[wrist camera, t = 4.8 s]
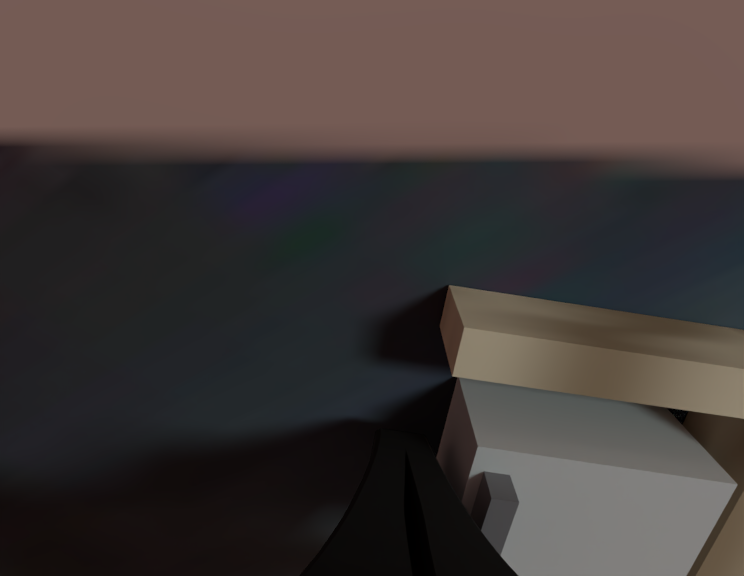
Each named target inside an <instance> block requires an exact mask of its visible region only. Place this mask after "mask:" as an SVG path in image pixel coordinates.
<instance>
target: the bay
mask: <svg viewBox="0 0 744 576" xmlns="http://www.w3.org/2000/svg"><path fill="white" fill-rule="evenodd" d="M440 330H441V334H442V338H443V342H444V346H445V350H446V354H447V358H448V362H449V366H450V370H451V374H452V376H453V377H460V378H467V379H474V380H481V381H488V382H495V383H502V384H508V385H515V386H522V387H529V388H536V389H543V390H550V391H557V392H563V393H570V394H577V395H584V396H591V397H598V398H605V399H611V400H618V401H625V402H632V403H639V404H646V405H653V406H660V407H666V408H673V409H680V410H687V411H689V412H688V414H687V416H686V418H685V420H684V422H683V424H682V425H683V426H684V427H685V428H686V430H687V431H688V432H689V433H690V434H691V435H692V436H693V437H694V438H695V439H696V440H697V441H698V442H699V443H700V445H701V446H702V447H703V448H704V449H705V450H706V451H707V452H708V453H709V454H710V455H711V456H712V457H713V458H714V460H715V461H716V462H717V463H718V464H719V465H720V466H721V467H722V468H723V469H724V470H725V471H726V472H727V473H728V474H729V476H730V477H731V478H732V479H733V480H734V481H735V482H736V483H737V484H738V485H737V487H736V489H735V491H734V492H733V494H732V496H731V498H730V499H729V501H728V503H727V505H726V507H725V508H724V510H723V512H722V514H721V515H720V517H719V519H718V521H717V522H716V524H715V526H714V528H713V530H712V531H711V533H710V535H709V537H708V538H707V540H706V542H705V544H704V546H703V547H702V549H701V551H700V553H699V554H698V556H697V558H696V560H695V561H694V563H693V565H692V567H691V569H690V570H689V572H688V574H687V576H744V330H741V329H734V328H728V327H721V326H714V325H708V324H701V323H695V322H688V321H682V320H675V319H668V318H662V317H655V316H649V315H642V314H636V313H629V312H622V311H616V310H609V309H603V308H596V307H590V306H583V305H576V304H570V303H563V302H557V301H550V300H544V299H537V298H530V297H524V296H517V295H511V294H504V293H498V292H491V291H484V290H478V289H471V288H465V287H458V286H452V285H449V287H448V292H447V296H446V300H445V305H444V309H443V314H442V318H441V322H440Z"/></svg>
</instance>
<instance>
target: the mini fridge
mask: <svg viewBox="0 0 744 576" xmlns="http://www.w3.org/2000/svg"><path fill="white" fill-rule="evenodd" d="M436 458H437V460H438V462H439V464H440V466H441V468H442V470H443V472H444V473H445V475H446V477H447V479H448V481H449V482H450V484H451V486H452V487H453V489H454V491H455V492H456V494H457V496H458V497H459V499H460V501H461V502H462V504H463V505H464V507H465V508H466V510H467V511H468V513H469V514H470V516H471V517H472V519H473V520H474V522H475V523H476V525H477V526H478V527H479V529H480V530H481V532H482V533H483V534H484V536H485V537H486V538H487V540H488V541H489V542H490V543H491V545H492V546H493V547H494V548H495V550H496V551H497V552H498V553H499V555H500V556H501V557H502V558H503V559H504V560H505V562H506V563H507V564H508V565H509V566H510V567H511V568H512V569H513V570H514V571H515V573H516V574H517V575H518V576H687V574H688V572H689V570H690V569H691V567H692V565H693V563H694V561H695V560H696V558H697V556H698V554H699V553H700V551H701V549H702V547H703V546H704V544H705V542H706V540H707V538H708V537H709V535H710V533H711V531H712V530H713V528H714V526H715V524H716V522H717V521H718V519H719V517H720V515H721V514H722V512H723V510H724V508H725V507H726V505H727V503H728V501H729V499H730V498H731V496H732V494H733V492H734V491H735V489H736V487H737V485H738V484H737V483H736V482H735V481H734V480H733V479H732V478H731V477H730V476H729V474H728V473H727V472H726V471H725V470H724V469H723V468H722V467H721V466H720V465H719V464H718V463H717V462H716V461H715V460H714V458H713V457H712V456H711V455H710V454H709V453H708V452H707V451H706V450H705V449H704V448H703V447H702V446H701V445H700V443H699V442H698V441H697V440H696V439H695V438H694V437H693V436H692V435H691V434H690V433H689V432H688V431H687V430H686V428H685V427H684V426H683V425H682V424H681V423H680V422H679V421H678V420H677V419H676V418H675V417H674V416H673V415H672V413H671V412H670V411H669V410H668V409H667V408H666V407H660V406H653V405H646V404H639V403H632V402H625V401H618V400H611V399H605V398H598V397H591V396H584V395H577V394H570V393H563V392H557V391H550V390H543V389H536V388H529V387H522V386H515V385H508V384H502V383H495V382H488V381H481V380H474V379H467V378H460V377H457V381H456V385H455V389H454V392H453V396H452V400H451V404H450V408H449V412H448V415H447V419H446V423H445V427H444V431H443V434H442V438H441V442H440V446H439V450H438V453H437V457H436Z"/></svg>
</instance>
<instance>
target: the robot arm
mask: <svg viewBox="0 0 744 576" xmlns="http://www.w3.org/2000/svg"><path fill="white" fill-rule="evenodd" d="M300 576H518V575H517V574H516V573H515V571H514V570H513V569H512V568H511V567H510V566H509V565H508V564H507V563H506V562H505V560H504V559H503V558H502V557H501V556H500V555H499V553H498V552H497V551H496V550H495V548H494V547H493V546H492V545H491V543H490V542H489V541H488V540H487V538H486V537H485V536H484V534H483V533H482V532H481V530H480V529H479V527H478V526H477V525H476V523H475V522H474V520H473V519H472V517H471V516H470V514H469V513H468V511H467V510H466V508H465V507H464V505H463V504H462V502H461V501H460V499H459V497H458V496H457V494H456V492H455V491H454V489H453V487H452V486H451V484H450V482H449V481H448V479H447V477H446V475H445V473H444V472H443V470H442V468H441V466H440V464H439V462H438V460H437V458H436V456H435V454H434V452H433V450H432V448H431V446H430V444H429V442H428V440H427V438H426V437H425V435H423V434H416V433H409V432H402V431H395V430H387V429H379V430H377V431H376V432H375V438H374V443H373V448H372V453H371V459H370V462H369V465H368V467H367V469H366V472H365V474H364V477H363V479H362V482H361V484H360V486H359V488H358V490H357V492H356V494H355V496H354V498H353V500H352V502H351V503H350V505H349V507H348V509H347V510H346V512H345V514H344V516H343V517H342V519H341V520H340V522H339V524H338V525H337V527H336V528H335V530H334V531H333V533H332V534H331V536H330V537H329V539H328V540H327V542H326V543H325V544H324V546H323V547H322V549H321V550H320V551H319V553H318V554H317V555H316V557H315V558H314V559H313V560H312V562H311V563H310V564H309V565H308V566H307V568H306V569H305V570H304V571H303V572H302V574H301V575H300Z"/></svg>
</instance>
